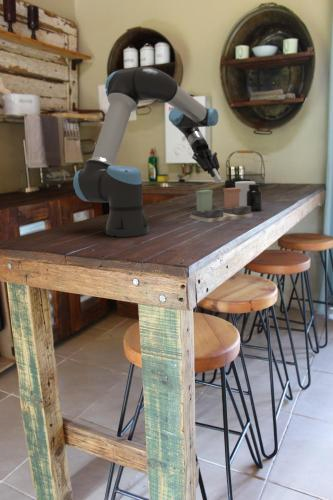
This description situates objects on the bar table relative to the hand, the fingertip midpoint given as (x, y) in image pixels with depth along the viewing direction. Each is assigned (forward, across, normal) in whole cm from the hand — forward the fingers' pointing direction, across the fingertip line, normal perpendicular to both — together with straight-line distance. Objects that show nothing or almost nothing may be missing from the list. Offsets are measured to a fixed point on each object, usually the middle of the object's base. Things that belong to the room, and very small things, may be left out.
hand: (218, 181), depth 193 cm
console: (+19, +8, 0) cm, 21 cm away
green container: (+16, +15, -1) cm, 22 cm away
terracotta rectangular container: (+16, +1, -1) cm, 16 cm away
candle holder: (+5, -21, -16) cm, 26 cm away
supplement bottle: (+14, -16, -6) cm, 22 cm away
